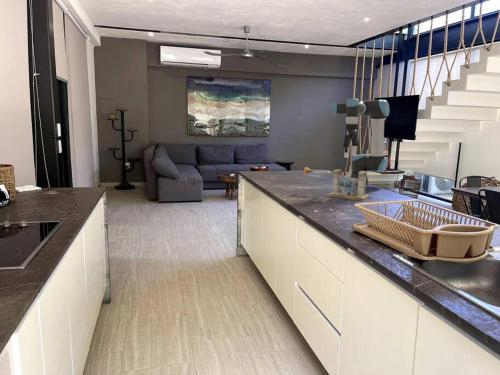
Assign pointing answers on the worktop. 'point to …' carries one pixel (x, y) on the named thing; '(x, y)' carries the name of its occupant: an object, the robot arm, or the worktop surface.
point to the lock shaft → (316, 171)
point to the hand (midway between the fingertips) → (350, 156)
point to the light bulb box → (348, 186)
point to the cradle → (360, 196)
